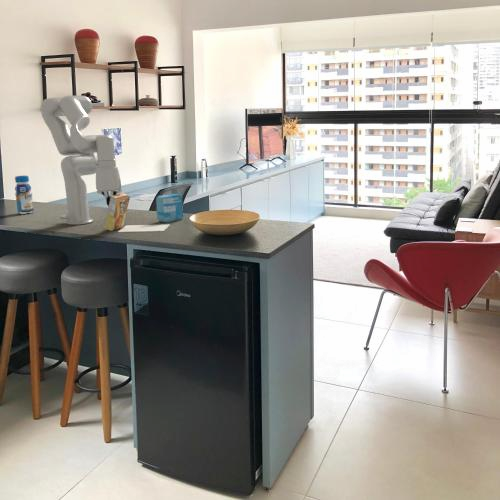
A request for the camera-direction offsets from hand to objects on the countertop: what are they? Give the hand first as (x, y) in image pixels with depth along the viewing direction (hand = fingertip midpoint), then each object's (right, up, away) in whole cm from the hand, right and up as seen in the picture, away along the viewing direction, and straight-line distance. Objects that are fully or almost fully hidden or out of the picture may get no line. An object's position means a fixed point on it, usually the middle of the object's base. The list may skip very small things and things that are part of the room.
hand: (110, 206), depth 260 cm
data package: (+24, -5, +20) cm, 31 cm away
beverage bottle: (-59, 0, +58) cm, 83 cm away
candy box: (+1, -10, +2) cm, 10 cm away
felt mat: (+15, -10, +1) cm, 18 cm away
